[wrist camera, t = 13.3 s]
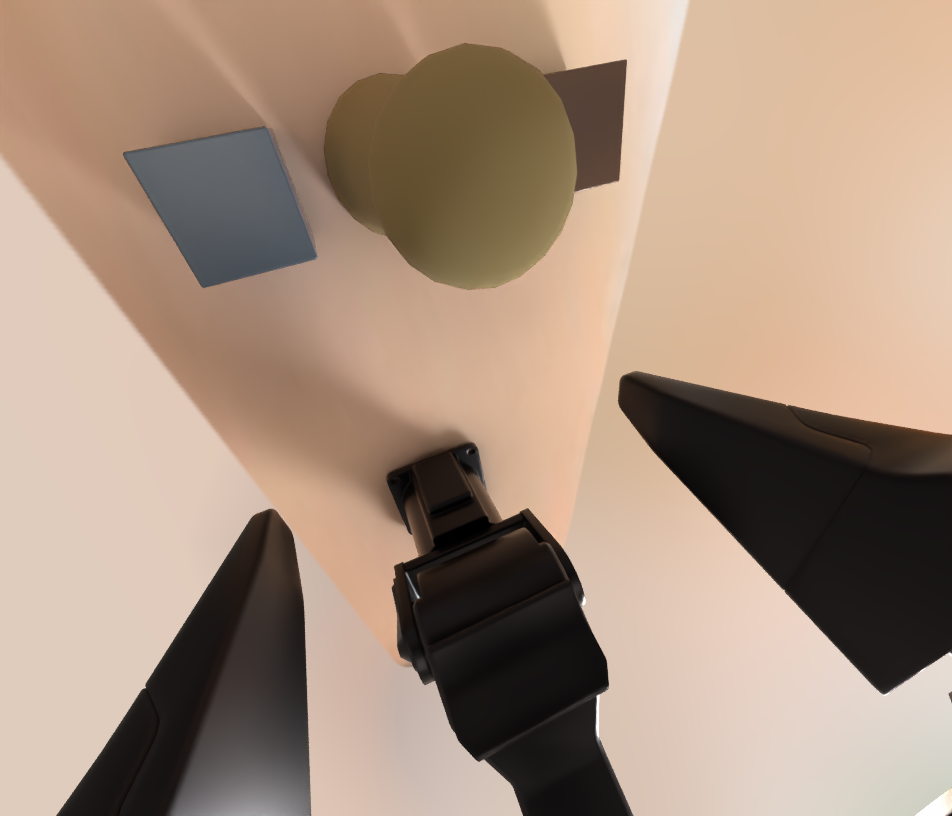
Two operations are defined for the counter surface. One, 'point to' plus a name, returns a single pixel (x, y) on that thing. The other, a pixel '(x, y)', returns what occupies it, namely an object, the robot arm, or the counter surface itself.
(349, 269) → the counter surface
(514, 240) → the cork
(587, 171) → the walnut block
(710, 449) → the robot arm
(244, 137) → the slate block
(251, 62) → the counter surface
